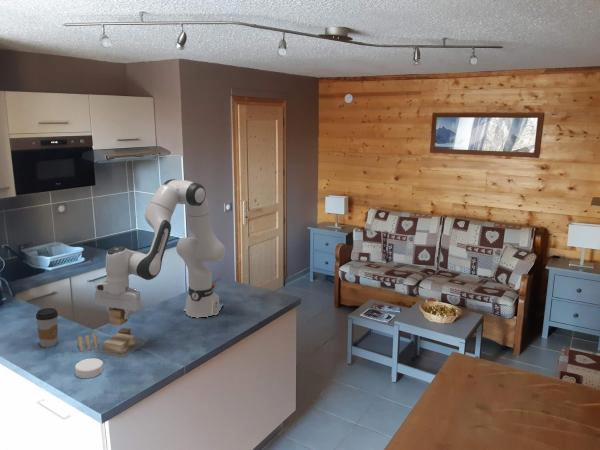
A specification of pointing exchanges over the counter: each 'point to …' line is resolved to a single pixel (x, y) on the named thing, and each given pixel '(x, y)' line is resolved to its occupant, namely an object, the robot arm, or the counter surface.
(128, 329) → the block
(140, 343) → the mat
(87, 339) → the ammunition
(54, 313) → the coffee cup
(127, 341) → the base block
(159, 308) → the counter surface
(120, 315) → the oak block
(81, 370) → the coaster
